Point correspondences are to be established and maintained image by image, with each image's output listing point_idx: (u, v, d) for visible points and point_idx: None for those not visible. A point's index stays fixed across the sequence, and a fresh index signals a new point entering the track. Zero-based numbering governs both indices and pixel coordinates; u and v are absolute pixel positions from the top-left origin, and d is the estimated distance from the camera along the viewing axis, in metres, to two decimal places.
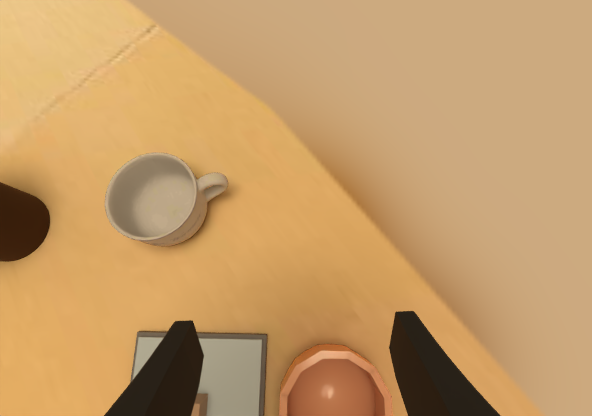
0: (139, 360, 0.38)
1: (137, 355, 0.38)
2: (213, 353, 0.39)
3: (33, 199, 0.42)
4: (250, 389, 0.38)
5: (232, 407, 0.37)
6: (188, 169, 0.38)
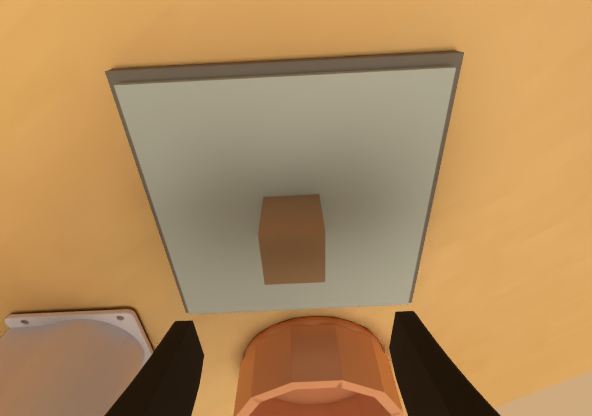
0: (394, 83, 0.14)
1: (408, 73, 0.14)
2: (393, 238, 0.19)
3: None
4: (328, 297, 0.21)
5: None
6: None
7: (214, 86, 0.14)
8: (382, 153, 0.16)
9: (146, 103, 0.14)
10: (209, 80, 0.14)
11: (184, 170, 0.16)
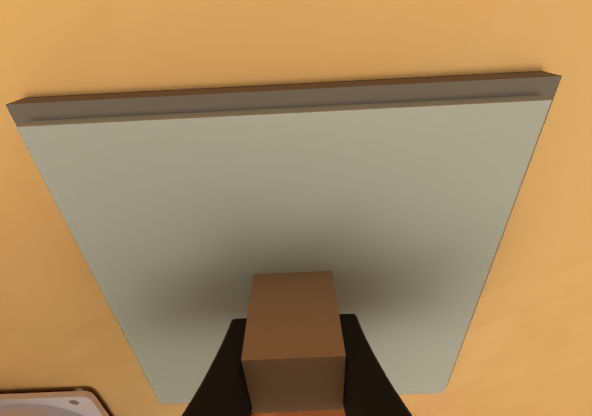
0: (452, 124, 0.09)
1: (475, 109, 0.09)
2: (432, 322, 0.14)
3: None
4: None
5: None
6: None
7: (173, 128, 0.09)
8: (426, 219, 0.11)
9: (71, 152, 0.09)
10: (165, 119, 0.09)
11: (138, 241, 0.11)
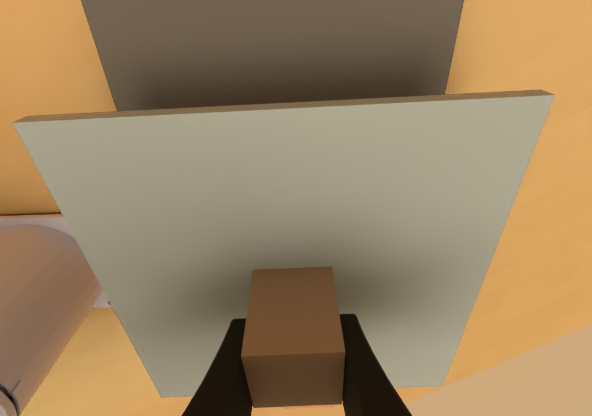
0: (454, 119, 0.09)
1: (477, 104, 0.09)
2: (431, 317, 0.14)
3: None
4: None
5: None
6: None
7: (171, 124, 0.09)
8: (426, 215, 0.11)
9: (68, 148, 0.09)
10: (163, 114, 0.09)
11: (137, 237, 0.11)
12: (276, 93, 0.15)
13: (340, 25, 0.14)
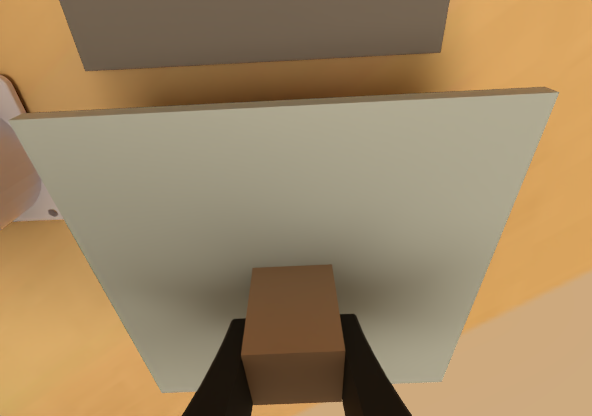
0: (456, 117, 0.09)
1: (480, 102, 0.09)
2: (431, 314, 0.14)
3: None
4: None
5: None
6: None
7: (169, 121, 0.09)
8: (427, 213, 0.11)
9: (65, 146, 0.09)
10: (161, 112, 0.09)
11: (136, 235, 0.11)
12: None
13: None
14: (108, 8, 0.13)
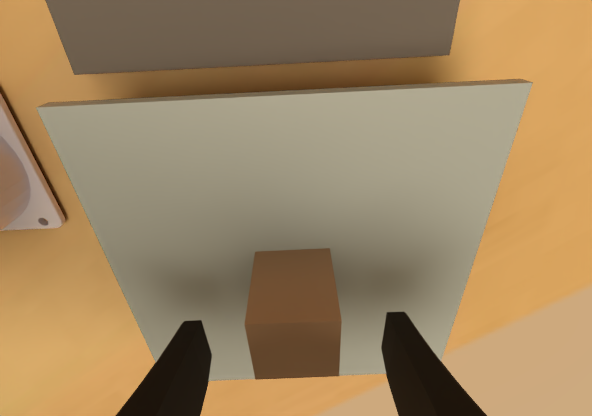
0: (441, 105, 0.10)
1: (462, 91, 0.10)
2: (425, 299, 0.14)
3: None
4: None
5: None
6: None
7: (181, 109, 0.10)
8: (417, 197, 0.12)
9: (86, 132, 0.10)
10: (174, 100, 0.10)
11: (147, 218, 0.12)
12: None
13: None
14: (97, 8, 0.12)
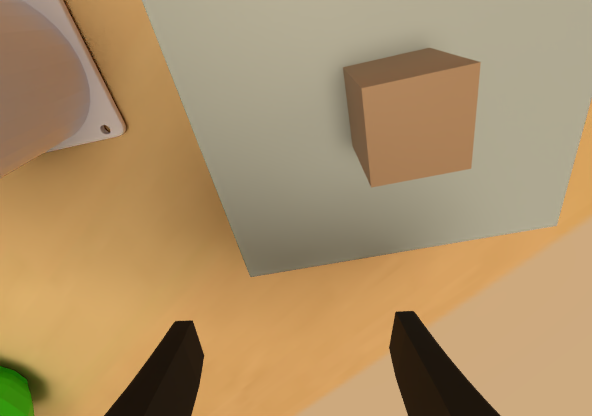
0: None
1: None
2: (544, 113, 0.12)
3: None
4: (439, 228, 0.15)
5: (396, 200, 0.14)
6: None
7: None
8: None
9: None
10: None
11: (222, 36, 0.11)
12: None
13: None
14: None
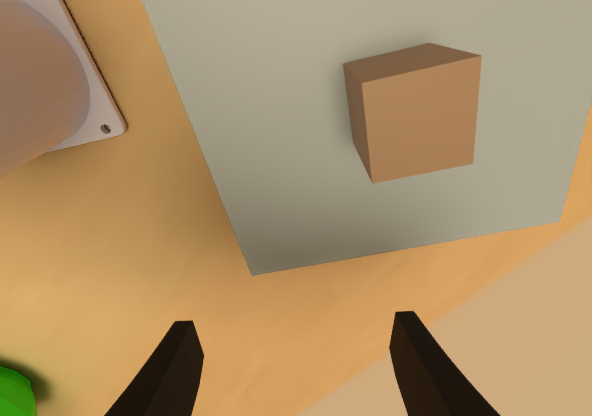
0: None
1: None
2: (546, 108, 0.12)
3: None
4: (440, 225, 0.15)
5: (397, 197, 0.14)
6: None
7: None
8: None
9: None
10: None
11: (221, 33, 0.11)
12: None
13: None
14: None
